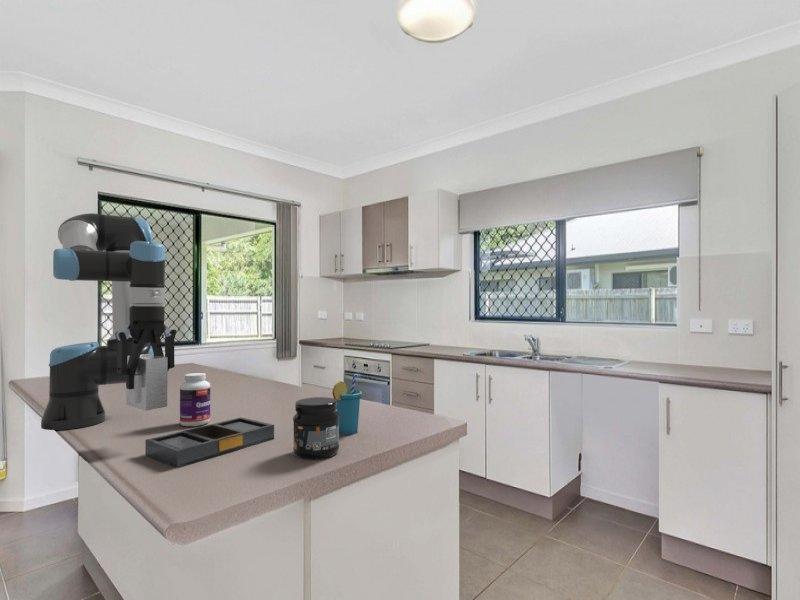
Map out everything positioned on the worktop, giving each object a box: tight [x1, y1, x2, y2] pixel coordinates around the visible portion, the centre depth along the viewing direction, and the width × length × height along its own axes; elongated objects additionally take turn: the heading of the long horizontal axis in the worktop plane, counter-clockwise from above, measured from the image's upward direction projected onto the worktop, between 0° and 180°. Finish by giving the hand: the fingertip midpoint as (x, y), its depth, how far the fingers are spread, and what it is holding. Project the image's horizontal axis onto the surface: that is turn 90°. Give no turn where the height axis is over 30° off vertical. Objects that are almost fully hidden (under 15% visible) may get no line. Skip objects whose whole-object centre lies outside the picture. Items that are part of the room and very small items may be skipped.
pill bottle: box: [179, 372, 211, 428], centre depth 128 cm, size 8×8×14 cm
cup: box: [331, 373, 362, 436], centre depth 120 cm, size 14×8×15 cm, turn 161°
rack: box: [144, 416, 275, 469], centre depth 107 cm, size 14×25×4 cm, turn 144°
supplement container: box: [292, 396, 340, 461], centre depth 102 cm, size 10×10×12 cm
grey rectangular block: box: [125, 354, 169, 411], centre depth 108 cm, size 10×5×12 cm, turn 54°
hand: (146, 399), depth 108 cm, fingers closed on grey rectangular block, 5 cm apart
